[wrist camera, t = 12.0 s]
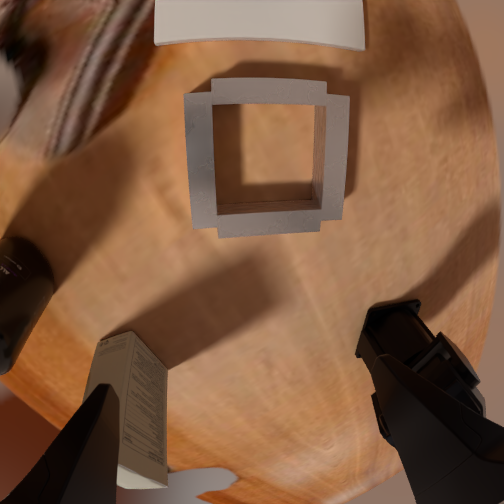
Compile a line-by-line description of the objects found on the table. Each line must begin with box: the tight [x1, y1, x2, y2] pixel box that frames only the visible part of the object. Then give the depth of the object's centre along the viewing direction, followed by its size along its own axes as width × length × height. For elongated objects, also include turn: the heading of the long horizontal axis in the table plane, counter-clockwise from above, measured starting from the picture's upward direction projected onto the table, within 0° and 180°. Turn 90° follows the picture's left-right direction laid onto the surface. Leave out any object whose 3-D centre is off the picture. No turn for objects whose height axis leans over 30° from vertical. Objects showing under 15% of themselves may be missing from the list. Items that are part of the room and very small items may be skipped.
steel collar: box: [184, 78, 350, 238], centre depth 17 cm, size 10×10×2 cm
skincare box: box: [82, 331, 168, 489], centre depth 19 cm, size 6×4×12 cm
